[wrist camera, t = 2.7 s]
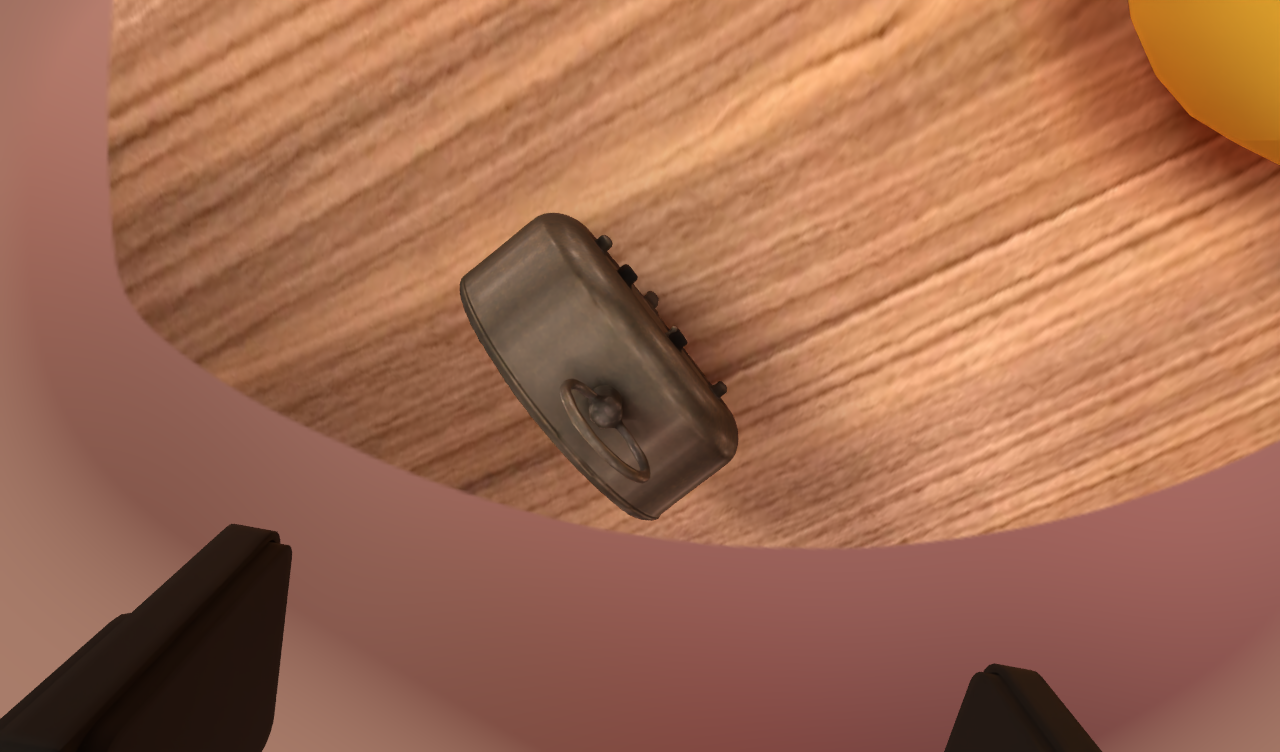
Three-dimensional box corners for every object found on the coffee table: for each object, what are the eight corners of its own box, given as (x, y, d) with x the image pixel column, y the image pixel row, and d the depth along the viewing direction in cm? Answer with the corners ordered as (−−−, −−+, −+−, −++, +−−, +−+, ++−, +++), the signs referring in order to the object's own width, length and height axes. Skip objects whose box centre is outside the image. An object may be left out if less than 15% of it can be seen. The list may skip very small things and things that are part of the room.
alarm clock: (484, 262, 34) (365, 348, 18) (582, 181, 33) (549, 199, 17) (641, 451, 36) (658, 672, 20) (737, 380, 35) (830, 554, 20)
